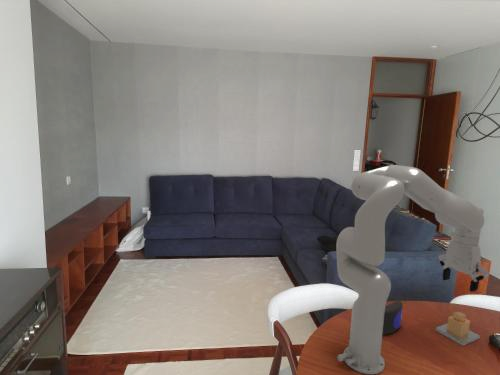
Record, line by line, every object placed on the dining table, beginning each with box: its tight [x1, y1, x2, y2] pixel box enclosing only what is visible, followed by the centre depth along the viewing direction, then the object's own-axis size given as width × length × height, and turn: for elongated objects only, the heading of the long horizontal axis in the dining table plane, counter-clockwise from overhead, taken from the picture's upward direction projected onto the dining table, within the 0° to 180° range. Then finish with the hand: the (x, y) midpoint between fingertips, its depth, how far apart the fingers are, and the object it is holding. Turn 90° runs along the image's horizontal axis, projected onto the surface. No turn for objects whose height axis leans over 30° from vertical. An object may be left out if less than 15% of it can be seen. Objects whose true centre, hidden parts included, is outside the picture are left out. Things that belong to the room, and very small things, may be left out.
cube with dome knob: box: [446, 311, 471, 337], centre depth 119 cm, size 5×5×7 cm
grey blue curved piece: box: [382, 300, 404, 336], centre depth 121 cm, size 16×5×9 cm, turn 123°
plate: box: [435, 323, 481, 347], centre depth 120 cm, size 10×10×4 cm
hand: (459, 285), depth 117 cm, fingers open, 9 cm apart
